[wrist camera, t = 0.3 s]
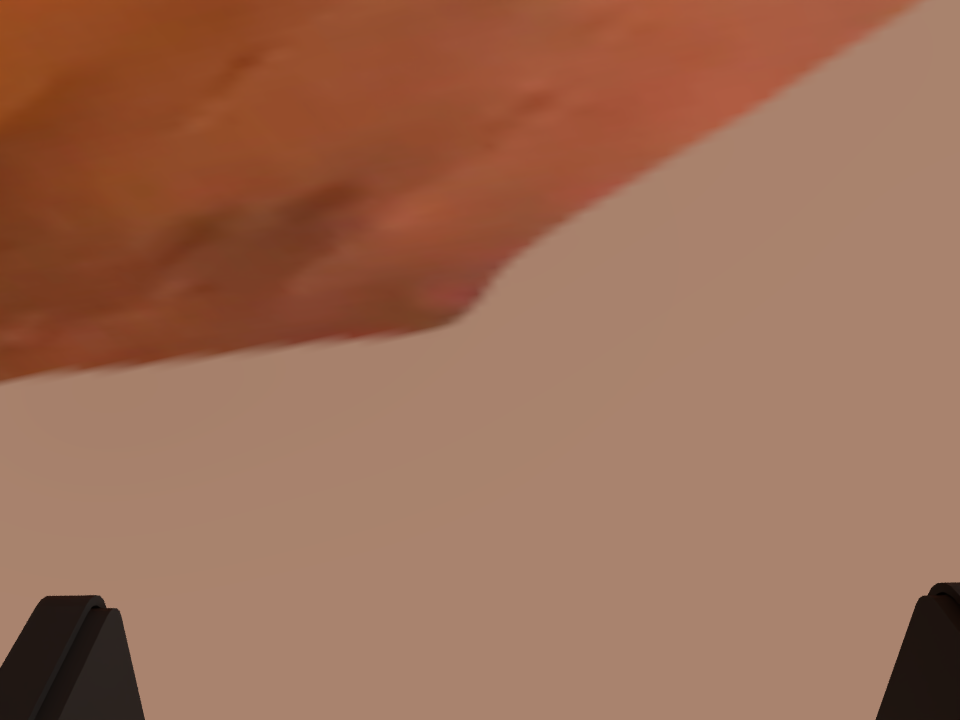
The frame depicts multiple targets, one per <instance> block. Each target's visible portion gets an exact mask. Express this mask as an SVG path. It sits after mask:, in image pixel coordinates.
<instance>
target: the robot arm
mask: <svg viewBox="0 0 960 720" xmlns="http://www.w3.org/2000/svg"><path fill="white" fill-rule="evenodd" d="M0 720H145V718H144V714H143V709H142V705H141V701H140V696H139V692H138V687H137V683H136V678H135V674H134V670H133V665H132V661H131V657H130V652H129V648H128V644H127V639H126V635H125V631H124V626H123V621H122V617H121V614H120V611H119V610H118V609H117V608H106V605H105V603H104V600H103V599H102V598H101V597H100V596H97V595H87V596H46V597H45V598H43V599H41V601H40V602H39V603H38V605H37V606H36V608H35V609H34V611H33V613H32V614H31V616H30V618H29V620H28V621H27V623H26V625H25V626H24V628H23V630H22V632H21V634H20V635H19V637H18V639H17V640H16V642H15V644H14V645H13V647H12V649H11V651H10V652H9V654H8V656H7V657H6V659H5V661H4V663H3V665H2V666H1V668H0ZM876 720H960V583H937V584H936V585H934V586H933V587H932V588H931V590H930V592H929V593H928V595H927V596H922V597H921V598H919V600H918V601H917V603H916V606H915V609H914V612H913V614H912V617H911V620H910V623H909V626H908V629H907V632H906V635H905V638H904V640H903V643H902V646H901V649H900V652H899V655H898V657H897V660H896V663H895V666H894V669H893V672H892V674H891V677H890V680H889V683H888V686H887V689H886V691H885V694H884V697H883V700H882V703H881V706H880V709H879V711H878V714H877V717H876Z"/></svg>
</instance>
